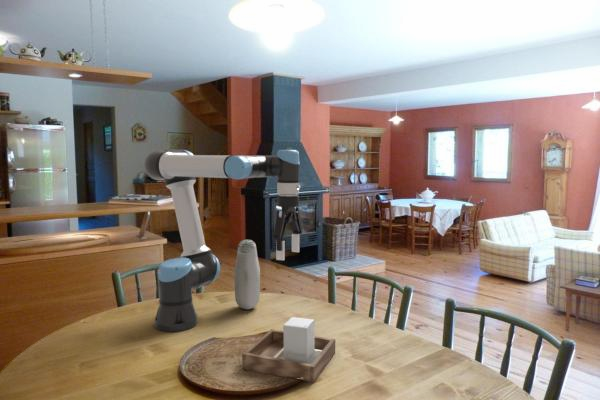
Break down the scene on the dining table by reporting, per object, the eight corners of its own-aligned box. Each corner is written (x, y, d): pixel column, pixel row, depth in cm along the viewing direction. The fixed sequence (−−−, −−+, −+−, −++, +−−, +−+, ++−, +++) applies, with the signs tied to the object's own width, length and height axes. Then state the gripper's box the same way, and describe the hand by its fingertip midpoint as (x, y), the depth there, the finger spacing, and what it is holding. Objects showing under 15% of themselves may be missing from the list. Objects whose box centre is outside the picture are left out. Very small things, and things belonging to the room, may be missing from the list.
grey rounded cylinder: (233, 305, 187) (232, 238, 184) (258, 303, 190) (257, 237, 187) (236, 313, 178) (235, 242, 175) (262, 311, 180) (261, 241, 177)
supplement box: (315, 360, 136) (315, 319, 134) (306, 371, 129) (307, 328, 127) (292, 356, 138) (292, 316, 137) (282, 367, 131) (282, 324, 130)
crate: (242, 368, 132) (242, 353, 131) (271, 342, 150) (271, 329, 150) (313, 382, 124) (314, 366, 123) (335, 353, 142) (335, 339, 142)
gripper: (284, 198, 143) (283, 264, 145) (310, 192, 166) (310, 249, 169) (262, 197, 146) (262, 262, 148) (291, 191, 169) (291, 248, 171)
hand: (288, 255), depth 158 cm, fingers open, 13 cm apart
